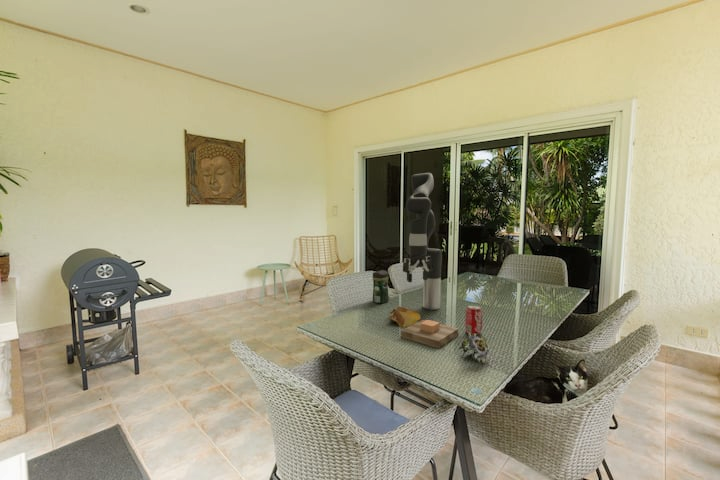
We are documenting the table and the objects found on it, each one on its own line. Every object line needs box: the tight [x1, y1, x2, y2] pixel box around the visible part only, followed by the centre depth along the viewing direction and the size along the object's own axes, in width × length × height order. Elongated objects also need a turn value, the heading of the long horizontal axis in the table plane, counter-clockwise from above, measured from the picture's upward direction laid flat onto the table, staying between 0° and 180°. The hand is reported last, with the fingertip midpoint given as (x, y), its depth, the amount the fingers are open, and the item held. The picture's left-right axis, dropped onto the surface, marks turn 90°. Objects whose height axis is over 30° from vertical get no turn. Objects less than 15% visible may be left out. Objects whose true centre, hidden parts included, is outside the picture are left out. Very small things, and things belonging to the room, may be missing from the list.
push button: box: [420, 319, 440, 333], centre depth 148 cm, size 6×6×4 cm
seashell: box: [388, 306, 421, 328], centre depth 168 cm, size 17×8×15 cm
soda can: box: [464, 304, 483, 336], centre depth 151 cm, size 7×7×12 cm
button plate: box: [400, 319, 459, 349], centre depth 148 cm, size 18×18×3 cm
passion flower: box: [458, 332, 489, 364], centre depth 126 cm, size 11×11×12 cm
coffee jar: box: [372, 269, 390, 304], centre depth 201 cm, size 10×8×19 cm
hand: (417, 280), depth 148 cm, fingers open, 8 cm apart
